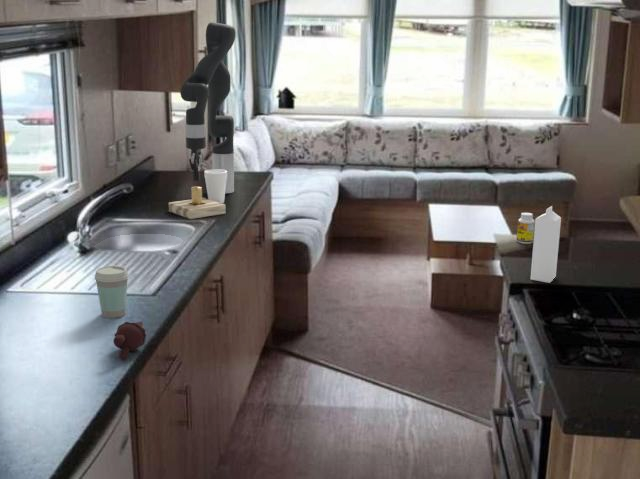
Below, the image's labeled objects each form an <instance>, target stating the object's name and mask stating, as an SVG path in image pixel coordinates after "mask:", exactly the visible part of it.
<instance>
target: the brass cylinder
mask: <svg viewBox="0 0 640 479" xmlns="http://www.w3.org/2000/svg"><path fill="white" fill-rule="evenodd" d="M190 190H191V199H192V205H194V206H197V205H202V198H203V186H200V185H199V186H196V185H195V186H191V188H190Z"/></svg>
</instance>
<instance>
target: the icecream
mask: <svg viewBox="0 0 640 479" xmlns="http://www.w3.org/2000/svg"><path fill="white" fill-rule="evenodd" d="M146 338H147V333H146V329H145V328H144V327H143V321H137V322H129V321H125V322H124V323H122V324H119V325H118V327H117V329H116V332H115V333H114V338H113V344H114V346H115V347H116V348H118V349H120V351H119V360H121V361H125V360H126V359H127V358H128V357H129V355H130V352H133V351H137V349H139V348H140V347H142V346H143V345H145V341H146Z"/></svg>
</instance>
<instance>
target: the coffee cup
mask: <svg viewBox="0 0 640 479" xmlns="http://www.w3.org/2000/svg"><path fill="white" fill-rule="evenodd" d="M129 277H130V276H129V272H128V271H127V268H126V267H124V266H122V265H121V266H120V265H109V266H108V265H107V266H102V267H99V268H97V269H96V270H95V274H94V280H95V282H96V288H97V293H98V300H99V305H100V311H101V315H102V317H104V318H106V319H117V318H121V317H123V316H124V315H126V309H127V308H126V307H127V306H126V305H127V294H128V280H129V279H128V278H129Z"/></svg>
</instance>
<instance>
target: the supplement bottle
mask: <svg viewBox="0 0 640 479" xmlns="http://www.w3.org/2000/svg"><path fill="white" fill-rule="evenodd" d="M533 215H534V213H531V212H521V214H520V218H519V219H518V221H517V231H516V232H517V233H516V242H518V243H519V244H522V245H523V244H524V245H530V244H533V242H534V231H535V219H533V218H534V216H533Z"/></svg>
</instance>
